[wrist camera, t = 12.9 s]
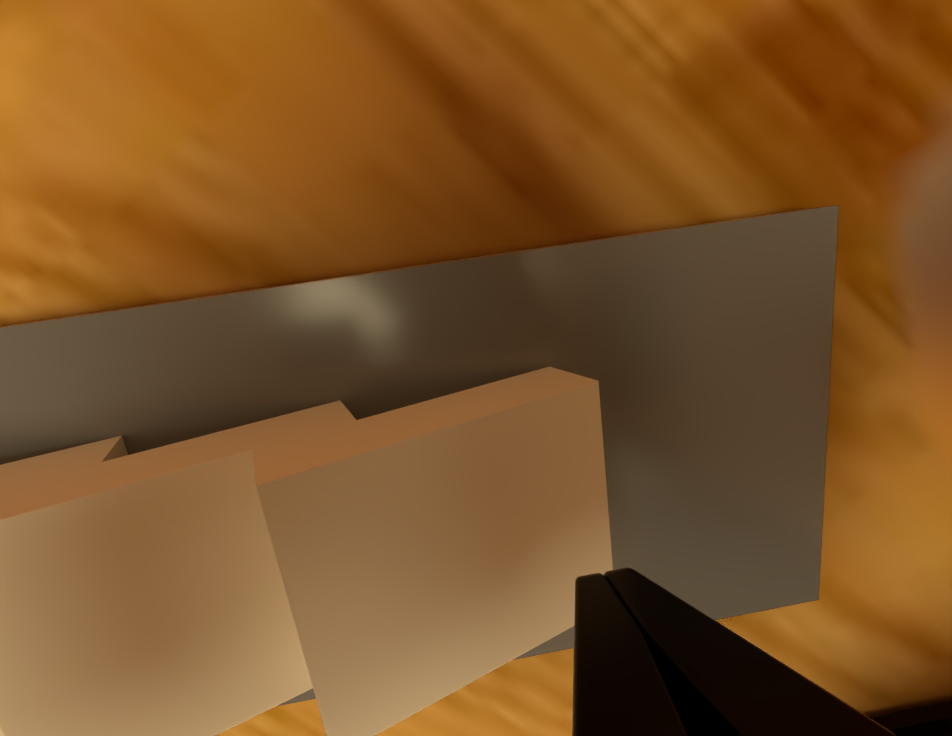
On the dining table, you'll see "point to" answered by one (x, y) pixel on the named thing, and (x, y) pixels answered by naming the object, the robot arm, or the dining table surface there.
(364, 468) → the domino
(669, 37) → the dining table surface
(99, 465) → the domino
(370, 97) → the dining table surface
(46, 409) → the metal plate
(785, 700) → the robot arm
